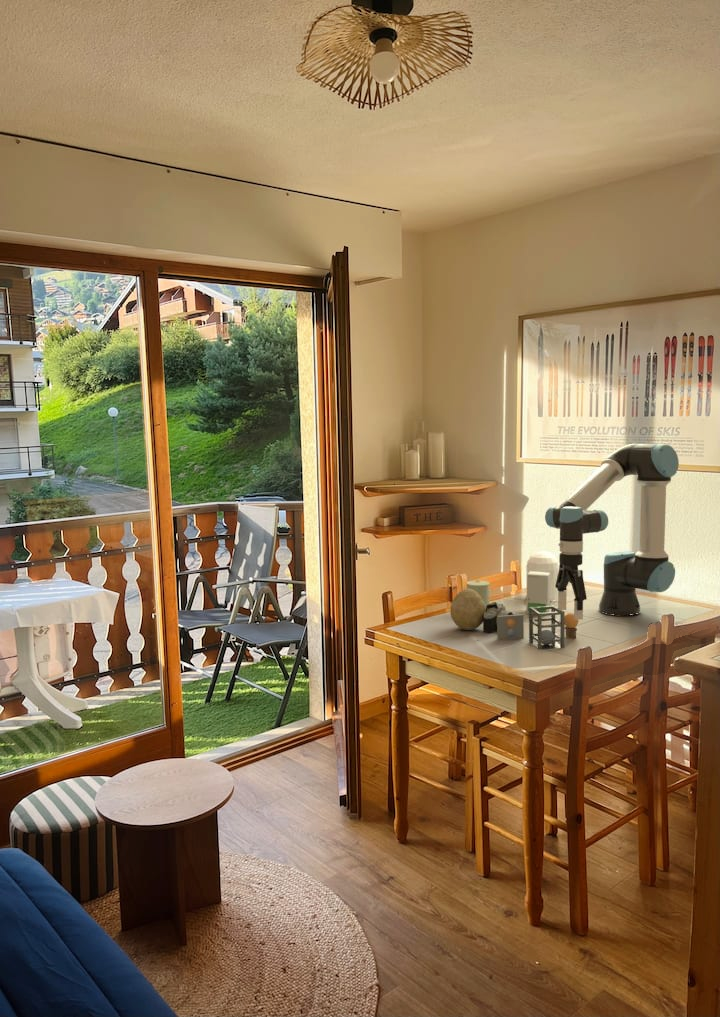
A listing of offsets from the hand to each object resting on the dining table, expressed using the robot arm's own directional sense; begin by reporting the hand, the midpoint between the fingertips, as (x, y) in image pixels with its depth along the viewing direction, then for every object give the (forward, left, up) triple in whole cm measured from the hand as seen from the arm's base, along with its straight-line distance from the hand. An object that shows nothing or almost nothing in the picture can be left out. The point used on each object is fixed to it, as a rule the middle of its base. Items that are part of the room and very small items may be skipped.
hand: (570, 614), depth 265 cm
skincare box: (-3, -38, -9) cm, 39 cm away
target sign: (+20, -4, -9) cm, 22 cm away
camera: (+20, -17, -9) cm, 28 cm away
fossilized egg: (+30, -21, -9) cm, 38 cm away
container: (-13, -59, -9) cm, 61 cm away
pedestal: (0, 0, -9) cm, 9 cm away
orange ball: (0, 0, -5) cm, 5 cm away
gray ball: (+11, +6, -8) cm, 15 cm away
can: (+19, -45, -9) cm, 50 cm away
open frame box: (+11, +6, -9) cm, 15 cm away
